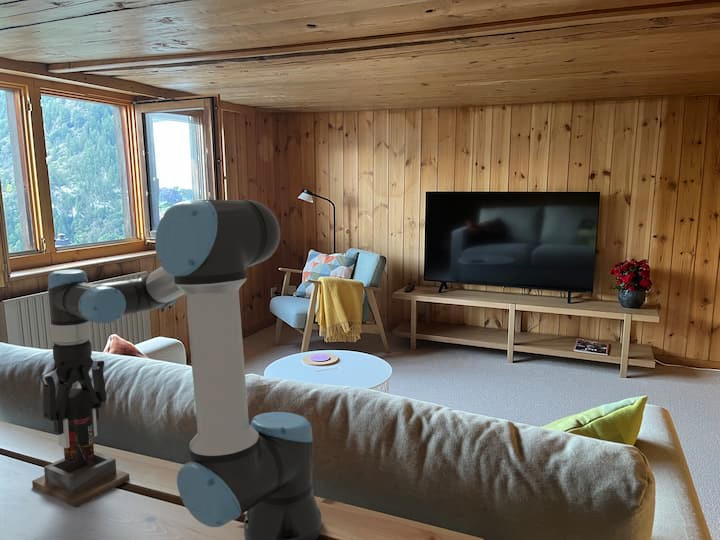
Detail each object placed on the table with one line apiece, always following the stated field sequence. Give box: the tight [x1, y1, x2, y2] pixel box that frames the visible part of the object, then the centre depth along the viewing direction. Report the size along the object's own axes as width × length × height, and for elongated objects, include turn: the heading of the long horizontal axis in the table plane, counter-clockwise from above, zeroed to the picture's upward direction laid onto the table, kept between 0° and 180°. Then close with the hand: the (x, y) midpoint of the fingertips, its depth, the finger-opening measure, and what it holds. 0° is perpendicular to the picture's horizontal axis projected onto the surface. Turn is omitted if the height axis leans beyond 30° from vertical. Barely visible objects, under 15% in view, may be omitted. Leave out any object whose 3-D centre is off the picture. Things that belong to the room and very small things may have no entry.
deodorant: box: [63, 387, 95, 463], centre depth 122 cm, size 6×6×15 cm
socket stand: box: [31, 450, 131, 508], centre depth 124 cm, size 16×13×5 cm
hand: (78, 440), depth 123 cm, fingers closed on deodorant, 6 cm apart
